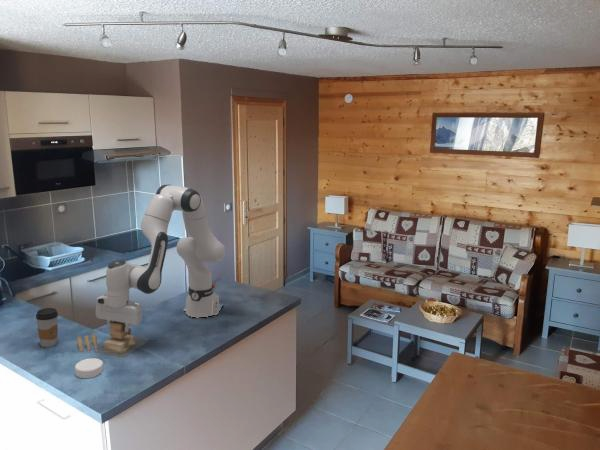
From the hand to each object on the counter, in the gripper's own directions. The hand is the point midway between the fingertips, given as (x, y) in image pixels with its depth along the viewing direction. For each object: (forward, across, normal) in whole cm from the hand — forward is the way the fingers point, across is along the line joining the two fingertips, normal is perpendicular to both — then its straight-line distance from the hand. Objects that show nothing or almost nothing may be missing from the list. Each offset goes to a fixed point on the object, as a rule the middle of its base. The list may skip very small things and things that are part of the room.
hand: (119, 330), depth 205 cm
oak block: (+2, 0, 0) cm, 2 cm away
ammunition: (+9, +13, +4) cm, 16 cm away
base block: (+8, 0, 0) cm, 8 cm away
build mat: (+8, 0, -2) cm, 9 cm away
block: (+8, +4, -8) cm, 12 cm away
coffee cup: (+9, +30, +7) cm, 32 cm away
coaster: (+9, -1, +20) cm, 22 cm away
